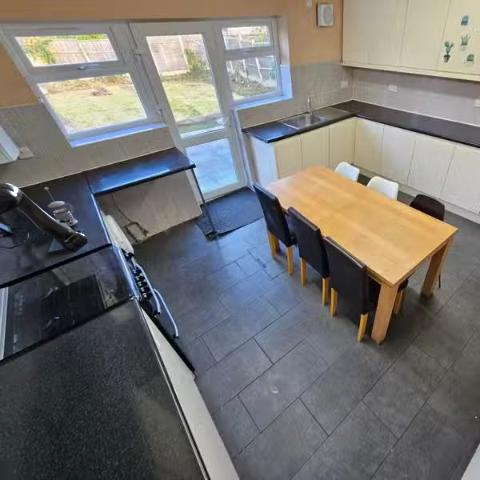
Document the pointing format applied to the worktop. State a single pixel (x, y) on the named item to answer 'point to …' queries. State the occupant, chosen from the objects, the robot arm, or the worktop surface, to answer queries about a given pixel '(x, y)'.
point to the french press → (66, 214)
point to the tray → (57, 245)
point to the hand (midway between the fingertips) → (51, 221)
